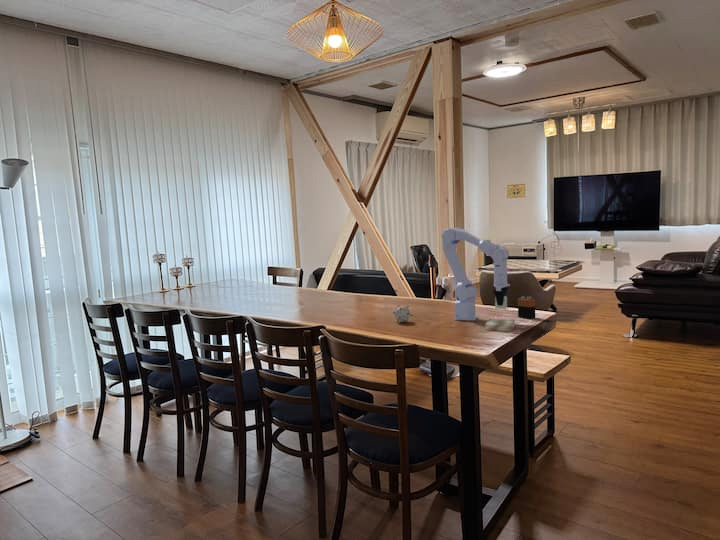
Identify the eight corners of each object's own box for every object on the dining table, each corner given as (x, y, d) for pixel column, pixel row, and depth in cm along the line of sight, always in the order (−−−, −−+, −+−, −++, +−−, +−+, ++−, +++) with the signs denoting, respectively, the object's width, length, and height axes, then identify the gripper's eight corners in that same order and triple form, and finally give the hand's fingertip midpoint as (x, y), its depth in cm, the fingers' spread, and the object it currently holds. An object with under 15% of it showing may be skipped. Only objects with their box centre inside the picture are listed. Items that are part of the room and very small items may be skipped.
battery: (530, 319, 232) (529, 298, 231) (517, 317, 238) (517, 296, 237) (535, 318, 235) (535, 296, 234) (523, 316, 240) (523, 295, 239)
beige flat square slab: (485, 331, 216) (484, 324, 216) (489, 325, 226) (489, 318, 226) (511, 332, 212) (511, 325, 212) (514, 326, 222) (514, 319, 222)
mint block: (495, 308, 227) (495, 297, 226) (496, 306, 231) (496, 295, 230) (505, 308, 225) (505, 297, 224) (507, 306, 229) (506, 296, 229)
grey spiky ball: (406, 329, 240) (418, 312, 240) (400, 326, 233) (413, 309, 232) (392, 318, 244) (404, 301, 244) (386, 316, 237) (398, 298, 236)
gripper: (507, 276, 218) (508, 307, 220) (511, 272, 231) (511, 301, 233) (491, 276, 221) (491, 307, 222) (495, 272, 234) (496, 301, 236)
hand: (500, 304), depth 228 cm, fingers closed on mint block, 5 cm apart
